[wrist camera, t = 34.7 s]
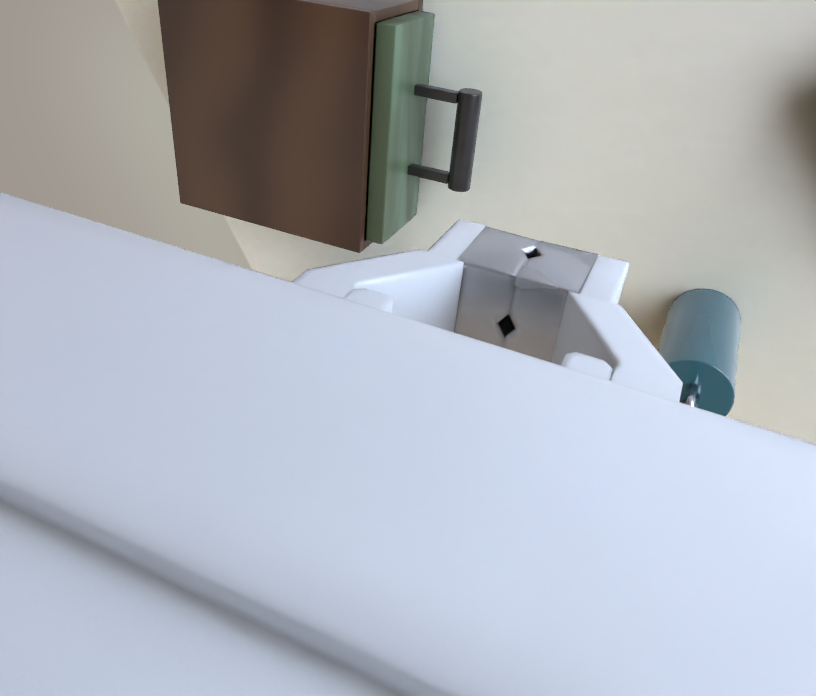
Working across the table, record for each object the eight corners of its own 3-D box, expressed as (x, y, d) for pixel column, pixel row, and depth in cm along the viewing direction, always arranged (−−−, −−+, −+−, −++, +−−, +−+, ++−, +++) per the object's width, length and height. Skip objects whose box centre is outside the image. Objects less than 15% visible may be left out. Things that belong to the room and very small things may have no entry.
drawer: (501, 23, 41) (469, 38, 36) (472, 229, 48) (442, 261, 44) (248, -17, 46) (193, -9, 41) (256, 174, 53) (210, 198, 49)
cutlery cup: (678, 280, 45) (649, 394, 34) (751, 299, 43) (743, 423, 33) (659, 337, 47) (626, 459, 37) (727, 357, 46) (713, 488, 36)
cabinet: (423, -2, 42) (370, 12, 37) (405, 215, 50) (359, 253, 45) (228, -32, 47) (154, -24, 41) (240, 172, 55) (179, 203, 49)
